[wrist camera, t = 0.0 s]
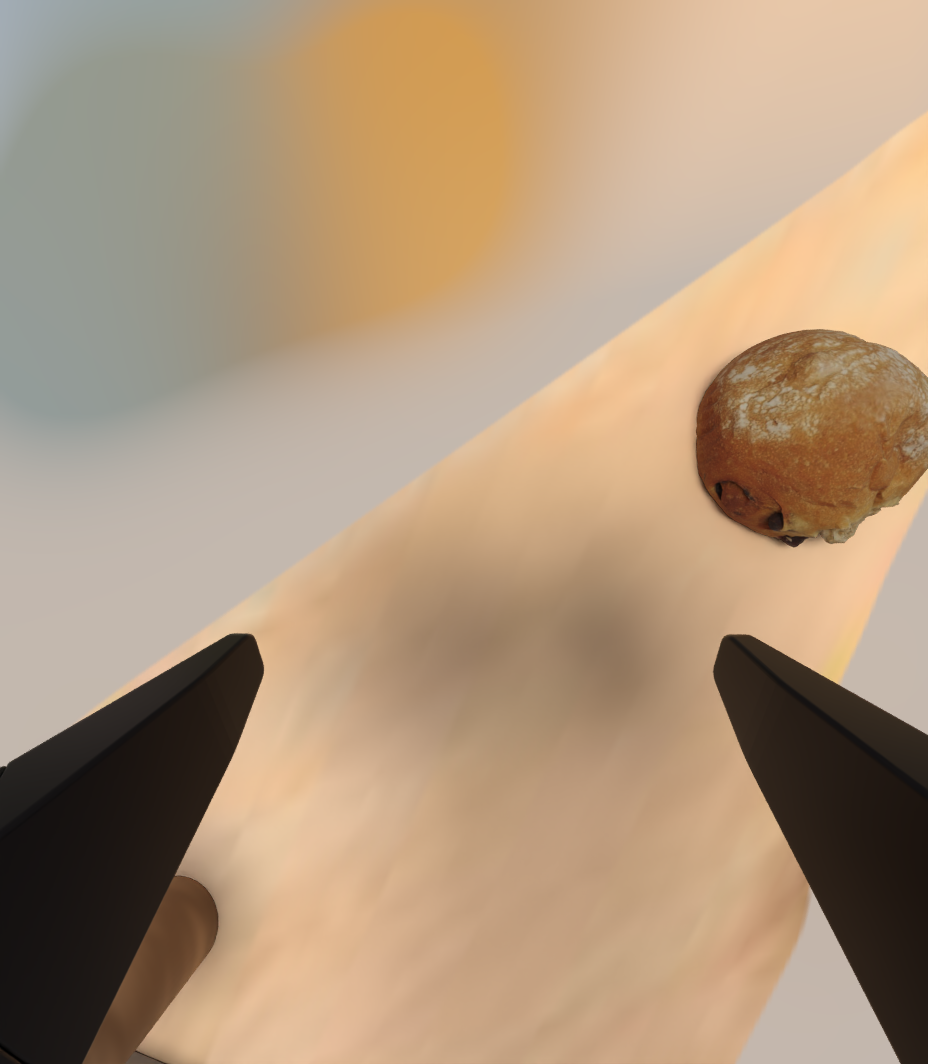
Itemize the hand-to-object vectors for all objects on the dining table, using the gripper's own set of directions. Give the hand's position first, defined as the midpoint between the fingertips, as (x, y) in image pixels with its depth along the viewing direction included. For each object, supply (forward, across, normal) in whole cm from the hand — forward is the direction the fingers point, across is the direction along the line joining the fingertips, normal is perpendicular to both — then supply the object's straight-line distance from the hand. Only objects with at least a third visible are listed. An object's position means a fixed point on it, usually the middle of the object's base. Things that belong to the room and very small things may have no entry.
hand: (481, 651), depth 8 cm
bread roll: (+17, -16, +1) cm, 24 cm away
